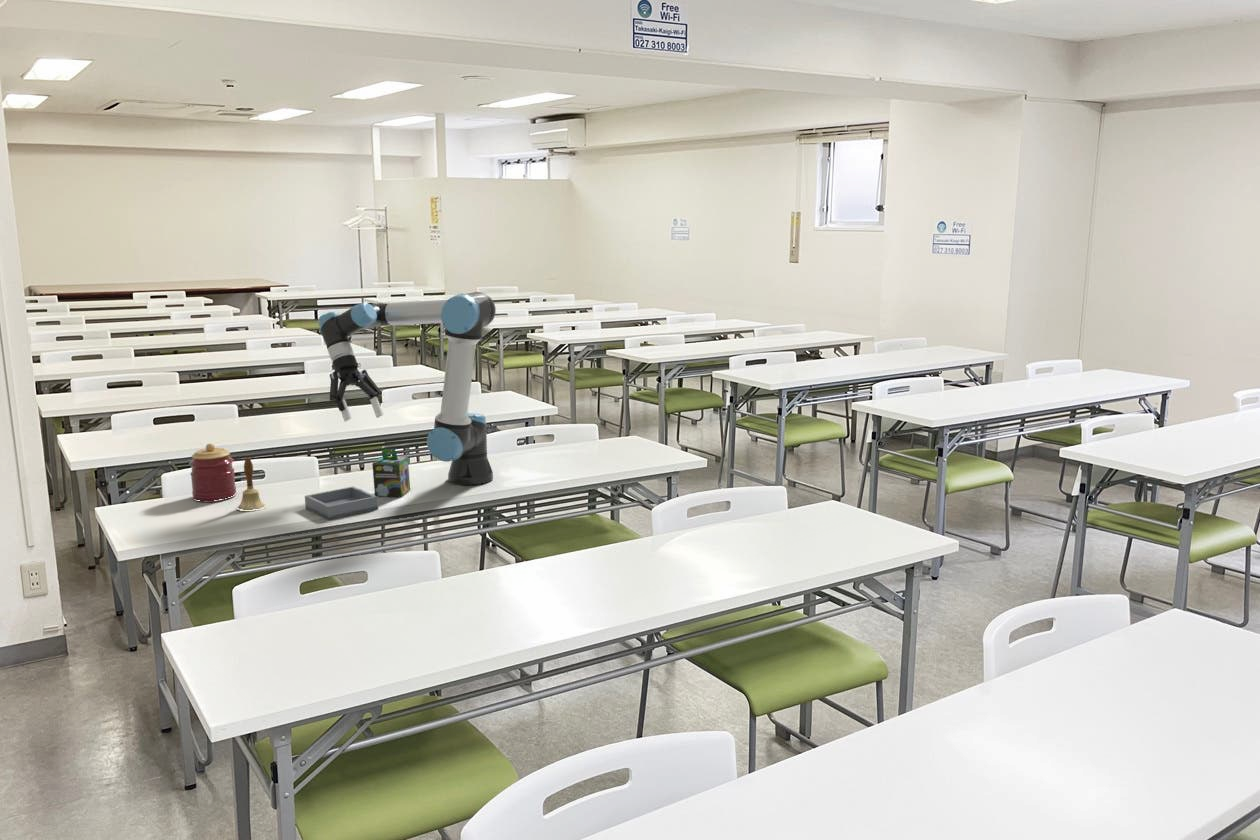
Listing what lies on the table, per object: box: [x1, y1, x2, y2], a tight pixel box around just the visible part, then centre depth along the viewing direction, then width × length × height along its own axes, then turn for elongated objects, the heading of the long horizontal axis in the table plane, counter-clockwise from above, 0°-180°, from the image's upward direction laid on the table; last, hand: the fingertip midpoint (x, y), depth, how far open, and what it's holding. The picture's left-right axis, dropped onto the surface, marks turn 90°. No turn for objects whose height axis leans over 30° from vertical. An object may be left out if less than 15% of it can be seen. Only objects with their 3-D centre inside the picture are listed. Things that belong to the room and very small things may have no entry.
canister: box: [188, 443, 237, 501], centre depth 309 cm, size 13×13×18 cm
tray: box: [304, 486, 379, 521], centre depth 297 cm, size 16×16×4 cm
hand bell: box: [237, 457, 266, 510], centre depth 297 cm, size 8×8×16 cm
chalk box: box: [372, 449, 411, 498], centre depth 313 cm, size 9×9×15 cm
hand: (364, 418), depth 314 cm, fingers open, 13 cm apart
